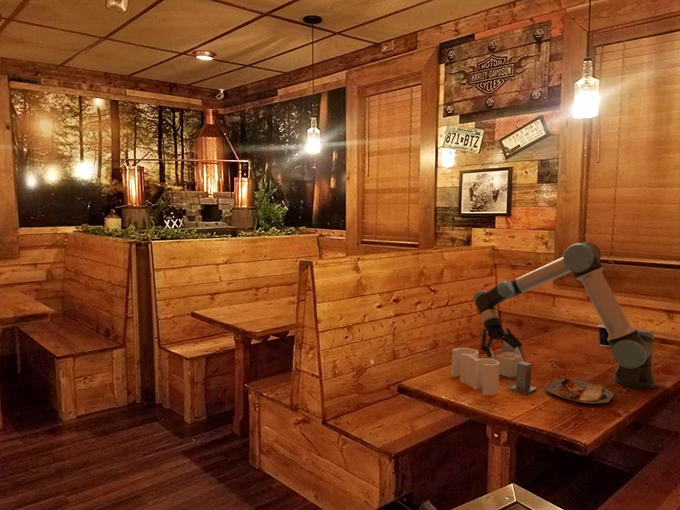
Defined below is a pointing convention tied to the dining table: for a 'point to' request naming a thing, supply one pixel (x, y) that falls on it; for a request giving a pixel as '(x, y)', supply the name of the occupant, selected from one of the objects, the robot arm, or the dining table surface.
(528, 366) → the post
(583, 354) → the dining table surface
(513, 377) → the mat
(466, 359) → the bracket
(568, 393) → the food plate
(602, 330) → the dixie cup
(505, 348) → the ceramic mug
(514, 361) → the beige block piece
